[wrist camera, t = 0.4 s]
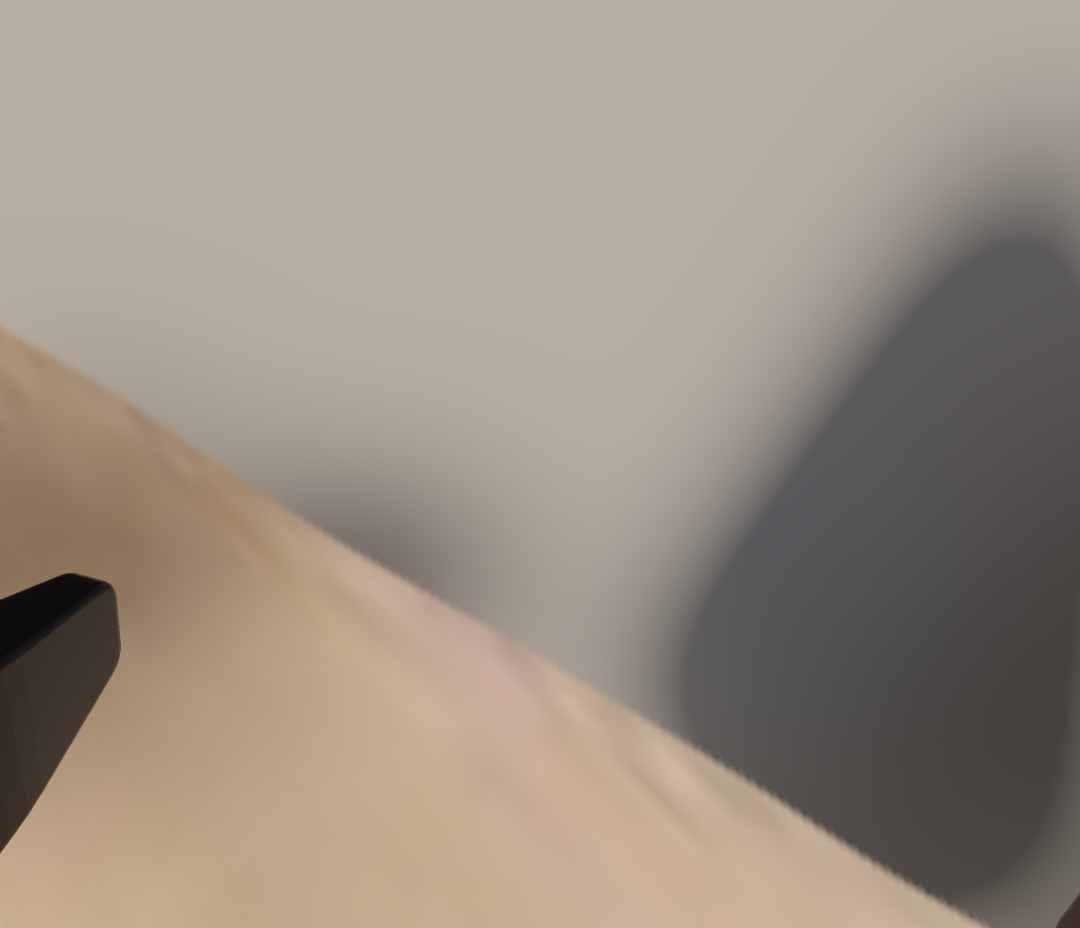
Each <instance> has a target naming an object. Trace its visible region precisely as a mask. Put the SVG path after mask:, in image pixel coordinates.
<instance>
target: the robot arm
mask: <svg viewBox="0 0 1080 928" xmlns="http://www.w3.org/2000/svg"><path fill="white" fill-rule="evenodd" d="M120 650H121V642H120V631H119V620H118V609H117V598H116V592H115V590H114V588H113V587H112V585H111V584H109V583H108V582H106V581H102V580H99V579H95V578H92V577H88V576H85V575H81V574H77V573H66V574H63V575H59V576H57V577H54V578H52V579H50V580H47V581H45V582H42V583H40V584H37V585H35V586H32V587H30V588H27V589H25V590H22V591H20V592H18V593H15V594H13V595H10V596H8V597H5V598H3V599H0V853H1V852H2V850H3V849H4V848H5V846H6V845H7V844H8V842H9V841H10V840H11V838H12V837H13V835H14V834H15V833H16V831H17V830H18V828H19V827H20V826H21V824H22V823H23V821H24V820H25V819H26V817H27V816H28V814H29V813H30V811H31V810H32V808H33V806H34V805H35V803H36V802H37V800H38V799H39V797H40V795H41V794H42V792H43V791H44V789H45V787H46V786H47V784H48V782H49V781H50V779H51V777H52V775H53V774H54V772H55V770H56V769H57V767H58V765H59V764H60V762H61V760H62V759H63V757H64V755H65V754H66V752H67V750H68V749H69V747H70V745H71V743H72V742H73V740H74V738H75V737H76V735H77V733H78V732H79V730H80V728H81V727H82V725H83V723H84V722H85V720H86V718H87V716H88V715H89V713H90V711H91V710H92V708H93V706H94V705H95V703H96V701H97V700H98V698H99V696H100V695H101V693H102V691H103V690H104V688H105V686H106V684H107V683H108V681H109V679H110V678H111V676H112V674H113V672H114V671H115V668H116V666H117V663H118V660H119V657H120ZM1056 928H1080V893H1079V894H1078V896H1077V897H1076V898H1075V900H1074V901H1073V902H1072V903H1071V905H1070V906H1069V907H1068V909H1067V910H1066V911H1065V912H1064V914H1063V915H1062V916H1061V918H1060V920H1059V921H1058V923H1057V925H1056Z"/></svg>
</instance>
